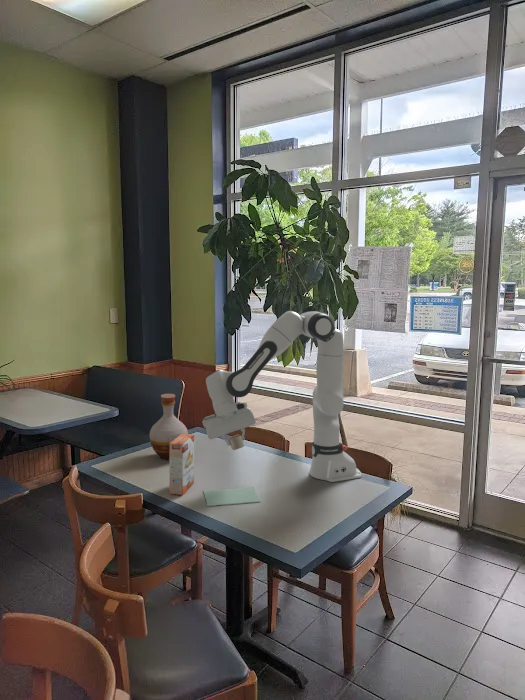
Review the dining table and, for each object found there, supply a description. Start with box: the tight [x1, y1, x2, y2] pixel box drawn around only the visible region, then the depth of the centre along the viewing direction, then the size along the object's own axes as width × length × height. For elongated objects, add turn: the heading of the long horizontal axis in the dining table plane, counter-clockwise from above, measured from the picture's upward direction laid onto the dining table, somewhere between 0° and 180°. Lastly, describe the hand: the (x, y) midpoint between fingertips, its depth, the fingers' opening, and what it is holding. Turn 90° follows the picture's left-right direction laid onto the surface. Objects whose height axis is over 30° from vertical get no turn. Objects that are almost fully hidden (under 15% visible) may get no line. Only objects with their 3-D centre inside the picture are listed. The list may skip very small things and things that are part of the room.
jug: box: [149, 393, 189, 461], centre depth 248 cm, size 20×18×30 cm
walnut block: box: [227, 433, 245, 451], centre depth 212 cm, size 4×4×12 cm
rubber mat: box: [203, 486, 261, 507], centre depth 204 cm, size 20×14×1 cm
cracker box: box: [169, 433, 195, 496], centre depth 210 cm, size 14×6×21 cm, turn 168°
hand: (236, 442), depth 211 cm, fingers closed on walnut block, 4 cm apart
